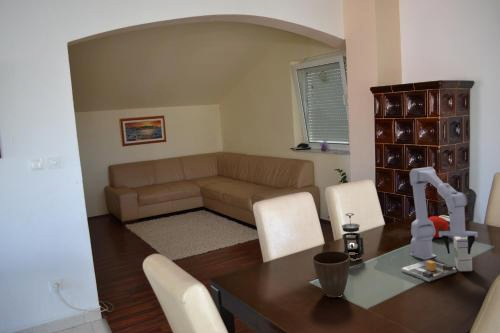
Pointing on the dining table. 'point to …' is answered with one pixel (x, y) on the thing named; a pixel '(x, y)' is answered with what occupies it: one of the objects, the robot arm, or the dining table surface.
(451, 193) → the robot arm
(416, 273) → the breaker panel
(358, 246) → the french press
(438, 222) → the tomato
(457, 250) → the white segmented block tower
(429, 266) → the yellow rounded piece
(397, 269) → the dining table surface
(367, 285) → the dining table surface
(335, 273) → the plant pot
